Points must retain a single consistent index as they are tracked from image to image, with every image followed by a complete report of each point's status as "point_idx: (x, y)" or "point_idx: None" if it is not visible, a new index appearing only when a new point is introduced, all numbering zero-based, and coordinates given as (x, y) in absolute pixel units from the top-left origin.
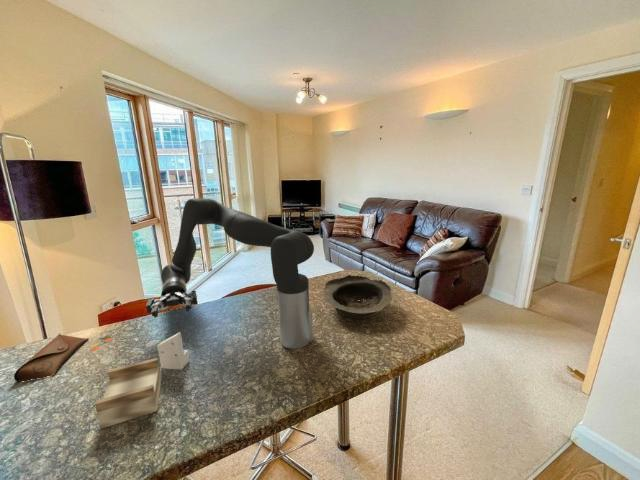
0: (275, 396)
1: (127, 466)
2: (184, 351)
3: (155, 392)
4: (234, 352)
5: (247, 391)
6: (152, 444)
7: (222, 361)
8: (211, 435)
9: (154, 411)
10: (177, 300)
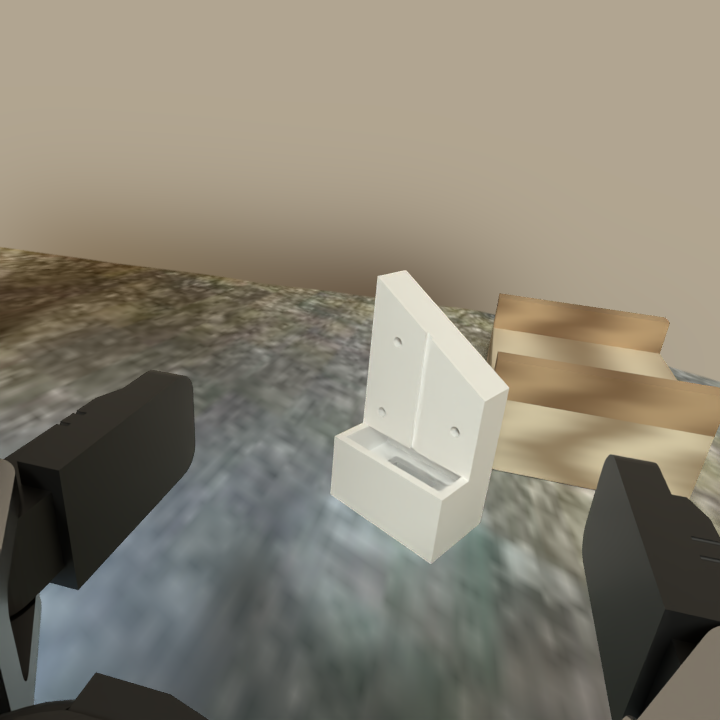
0: (204, 294)
1: None
2: (353, 443)
3: (491, 341)
4: None
5: (243, 320)
6: (486, 335)
7: (210, 413)
8: (370, 305)
9: None
10: (112, 716)
